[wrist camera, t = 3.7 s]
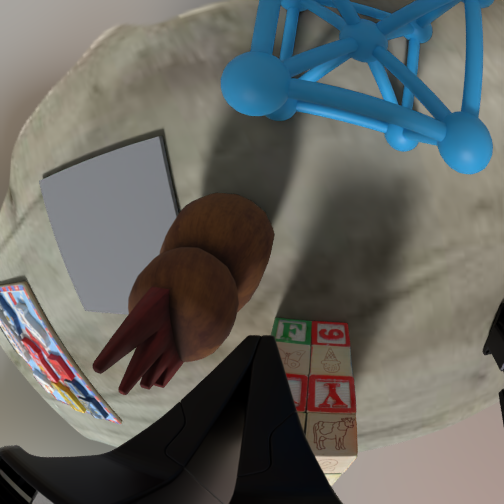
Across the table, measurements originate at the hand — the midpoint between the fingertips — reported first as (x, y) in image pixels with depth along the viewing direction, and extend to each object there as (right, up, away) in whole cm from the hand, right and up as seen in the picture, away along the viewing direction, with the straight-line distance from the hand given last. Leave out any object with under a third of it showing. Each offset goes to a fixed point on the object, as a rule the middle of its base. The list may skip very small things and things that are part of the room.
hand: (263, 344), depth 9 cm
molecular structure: (+6, +15, +5) cm, 17 cm away
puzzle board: (-38, -16, +30) cm, 51 cm away
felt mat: (-13, +4, +14) cm, 19 cm away
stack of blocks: (+4, -12, +18) cm, 22 cm away
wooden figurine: (-2, +5, +11) cm, 12 cm away
